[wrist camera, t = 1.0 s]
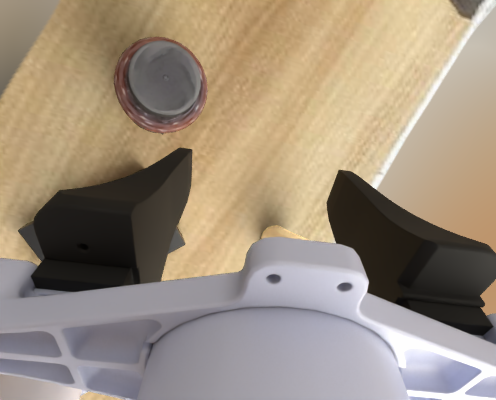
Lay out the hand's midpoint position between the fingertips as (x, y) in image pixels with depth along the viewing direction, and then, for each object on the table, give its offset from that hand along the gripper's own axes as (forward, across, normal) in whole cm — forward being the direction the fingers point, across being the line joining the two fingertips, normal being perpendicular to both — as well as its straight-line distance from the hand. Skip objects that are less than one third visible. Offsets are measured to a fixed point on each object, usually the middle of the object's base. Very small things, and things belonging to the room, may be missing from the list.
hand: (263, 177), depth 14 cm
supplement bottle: (+15, +9, +2) cm, 17 cm away
